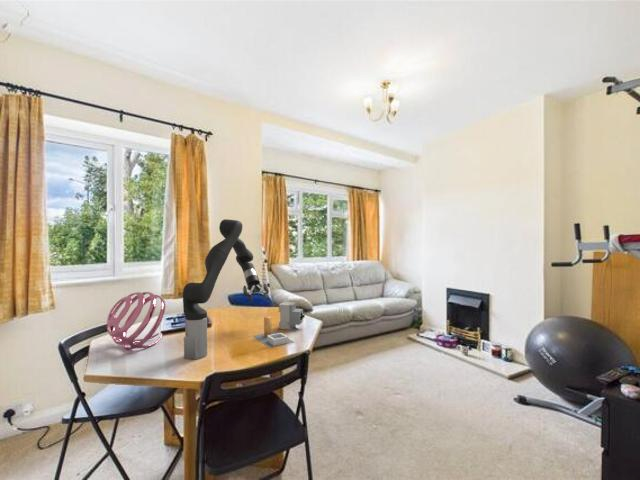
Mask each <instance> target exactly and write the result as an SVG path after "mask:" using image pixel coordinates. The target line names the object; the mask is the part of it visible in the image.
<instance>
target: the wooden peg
mask: <svg viewBox="0 0 640 480" xmlns="http://www.w3.org/2000/svg"><path fill="white" fill-rule="evenodd" d="M272 325H273V324H272V316H263V334H264V337H267V335H272V332H273V331H272Z"/></svg>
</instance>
